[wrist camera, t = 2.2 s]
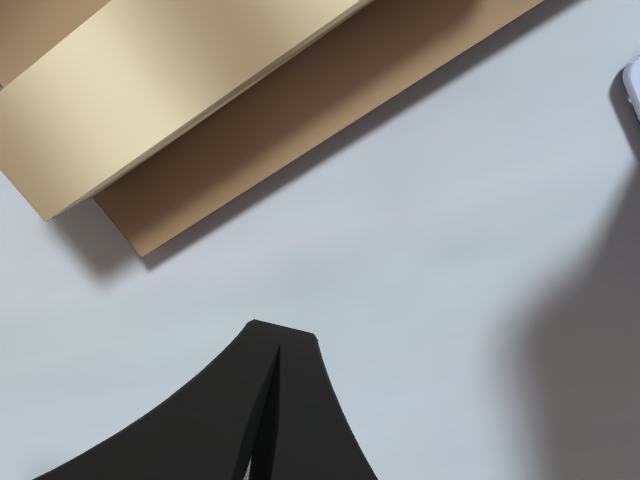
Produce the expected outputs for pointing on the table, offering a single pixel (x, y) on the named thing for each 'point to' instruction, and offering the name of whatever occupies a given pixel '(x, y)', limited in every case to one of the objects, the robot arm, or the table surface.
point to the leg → (142, 86)
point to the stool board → (263, 100)
